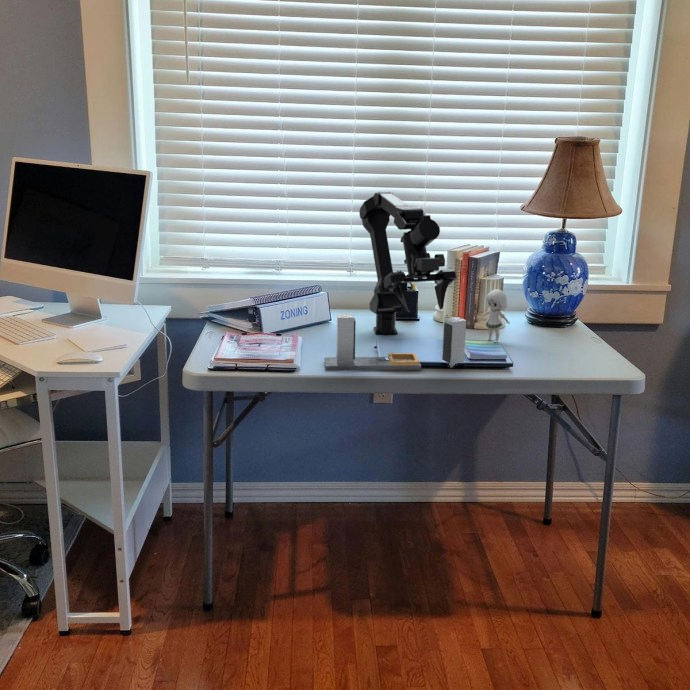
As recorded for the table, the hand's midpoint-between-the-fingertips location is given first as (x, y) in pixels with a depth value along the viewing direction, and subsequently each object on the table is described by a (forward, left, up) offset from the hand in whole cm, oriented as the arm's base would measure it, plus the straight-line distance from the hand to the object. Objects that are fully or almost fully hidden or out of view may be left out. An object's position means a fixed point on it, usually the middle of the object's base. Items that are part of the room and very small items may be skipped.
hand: (425, 310), depth 201 cm
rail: (+7, -14, -13) cm, 20 cm away
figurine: (-15, +23, -13) cm, 30 cm away
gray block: (+6, +7, -13) cm, 16 cm away
